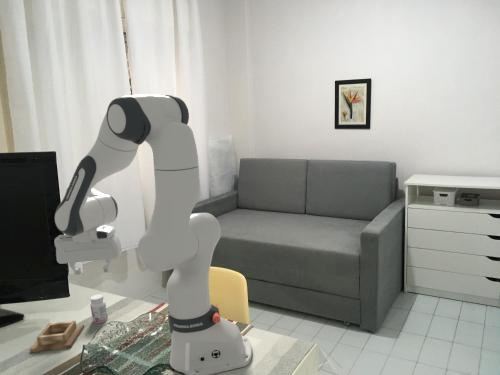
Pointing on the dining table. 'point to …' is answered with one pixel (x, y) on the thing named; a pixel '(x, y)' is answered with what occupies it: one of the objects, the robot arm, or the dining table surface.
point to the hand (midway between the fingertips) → (92, 272)
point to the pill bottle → (98, 309)
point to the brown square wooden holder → (57, 336)
